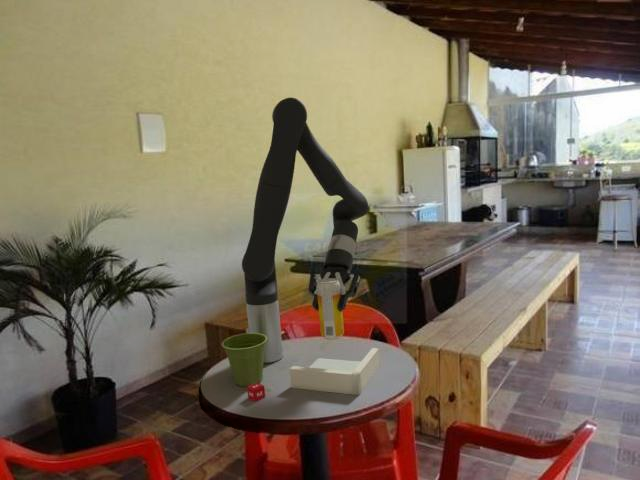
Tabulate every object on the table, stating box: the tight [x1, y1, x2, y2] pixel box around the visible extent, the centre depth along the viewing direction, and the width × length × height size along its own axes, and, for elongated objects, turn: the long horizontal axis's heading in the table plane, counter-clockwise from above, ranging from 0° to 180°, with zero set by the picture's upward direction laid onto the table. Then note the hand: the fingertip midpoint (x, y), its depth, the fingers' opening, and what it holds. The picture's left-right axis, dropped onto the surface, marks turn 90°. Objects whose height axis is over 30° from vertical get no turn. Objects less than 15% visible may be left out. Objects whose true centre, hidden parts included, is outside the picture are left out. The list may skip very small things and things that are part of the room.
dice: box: [246, 382, 266, 402], centre depth 122 cm, size 3×3×3 cm
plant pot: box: [221, 332, 267, 387], centre depth 132 cm, size 12×12×11 cm
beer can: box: [317, 278, 345, 341], centre depth 130 cm, size 6×6×15 cm
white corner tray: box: [289, 347, 381, 396], centre depth 131 cm, size 18×18×5 cm
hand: (327, 309), depth 129 cm, fingers closed on beer can, 6 cm apart
